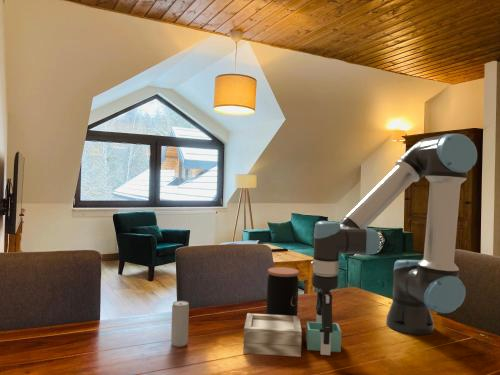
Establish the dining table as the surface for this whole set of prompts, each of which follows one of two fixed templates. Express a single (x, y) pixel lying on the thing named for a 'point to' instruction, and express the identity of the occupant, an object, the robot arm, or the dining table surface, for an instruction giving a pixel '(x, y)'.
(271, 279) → the coffee jar
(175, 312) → the beverage can
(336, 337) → the teal crate
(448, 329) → the dining table surface
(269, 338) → the beige crate
